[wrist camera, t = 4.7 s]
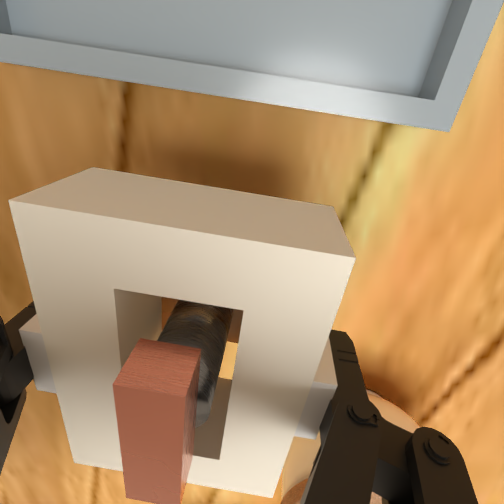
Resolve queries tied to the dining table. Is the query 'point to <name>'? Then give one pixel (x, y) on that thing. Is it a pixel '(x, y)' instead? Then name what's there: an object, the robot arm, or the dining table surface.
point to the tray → (268, 50)
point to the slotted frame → (189, 289)
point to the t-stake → (170, 396)
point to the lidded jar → (306, 449)
